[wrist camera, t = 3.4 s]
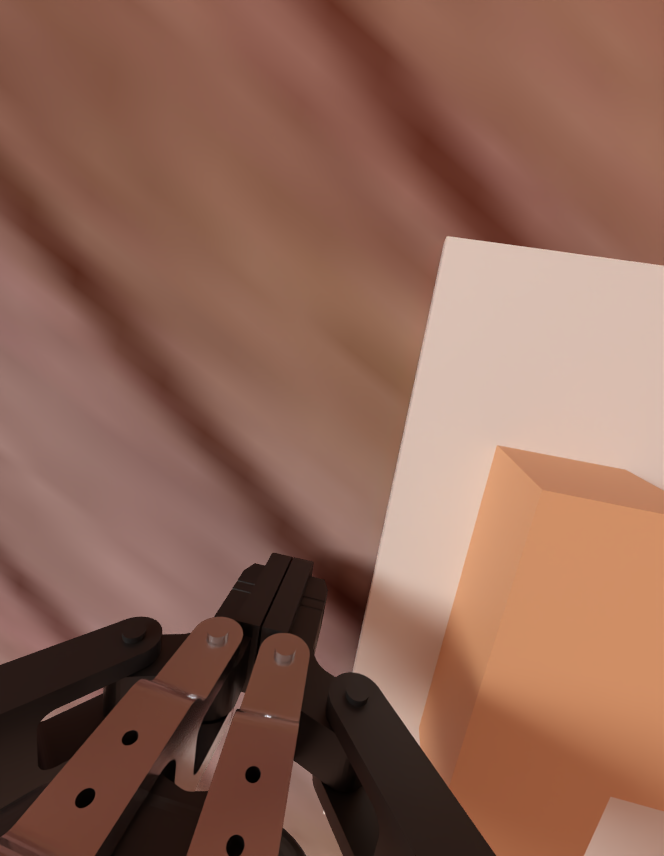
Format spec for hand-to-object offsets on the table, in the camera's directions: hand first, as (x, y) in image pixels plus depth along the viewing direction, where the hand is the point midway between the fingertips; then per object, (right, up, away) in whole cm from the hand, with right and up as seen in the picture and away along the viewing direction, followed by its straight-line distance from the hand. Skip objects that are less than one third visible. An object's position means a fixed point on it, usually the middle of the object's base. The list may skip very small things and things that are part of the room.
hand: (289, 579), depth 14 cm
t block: (+12, -2, 0) cm, 12 cm away
